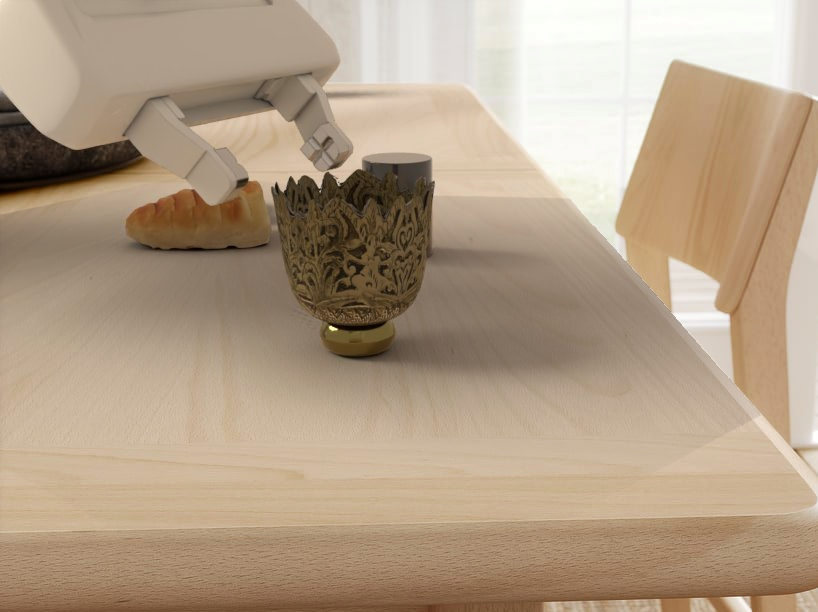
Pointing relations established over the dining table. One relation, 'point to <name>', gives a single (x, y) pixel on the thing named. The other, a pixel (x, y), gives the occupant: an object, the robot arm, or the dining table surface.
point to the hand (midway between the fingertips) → (290, 177)
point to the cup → (354, 254)
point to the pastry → (202, 221)
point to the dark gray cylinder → (402, 173)
